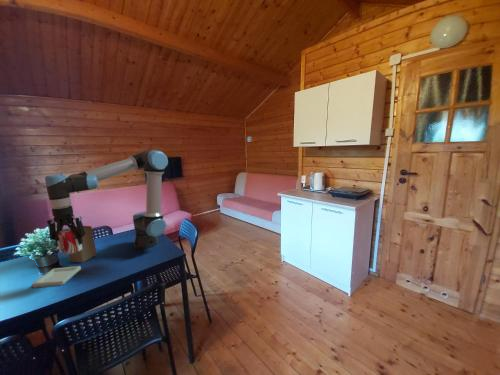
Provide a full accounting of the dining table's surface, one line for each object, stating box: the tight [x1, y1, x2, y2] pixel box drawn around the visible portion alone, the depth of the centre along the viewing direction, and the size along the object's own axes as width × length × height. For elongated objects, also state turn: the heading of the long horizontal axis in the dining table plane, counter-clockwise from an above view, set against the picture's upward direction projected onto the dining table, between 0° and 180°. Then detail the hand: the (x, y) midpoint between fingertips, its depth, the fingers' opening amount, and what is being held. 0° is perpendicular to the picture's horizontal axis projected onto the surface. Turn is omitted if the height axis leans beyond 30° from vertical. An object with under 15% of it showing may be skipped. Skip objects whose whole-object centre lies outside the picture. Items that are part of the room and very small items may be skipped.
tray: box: [31, 265, 82, 289], centre depth 114 cm, size 14×14×2 cm
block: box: [68, 225, 98, 263], centre depth 132 cm, size 10×10×20 cm
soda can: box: [58, 227, 77, 255], centre depth 106 cm, size 7×7×12 cm
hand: (71, 250), depth 107 cm, fingers closed on soda can, 7 cm apart
